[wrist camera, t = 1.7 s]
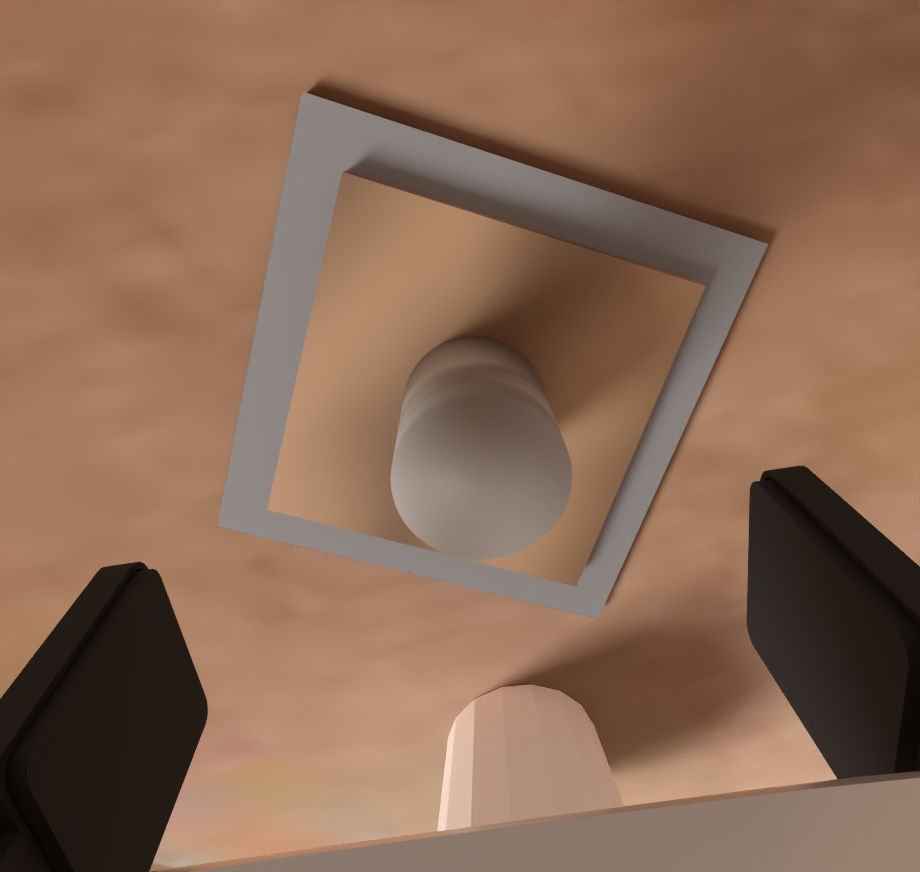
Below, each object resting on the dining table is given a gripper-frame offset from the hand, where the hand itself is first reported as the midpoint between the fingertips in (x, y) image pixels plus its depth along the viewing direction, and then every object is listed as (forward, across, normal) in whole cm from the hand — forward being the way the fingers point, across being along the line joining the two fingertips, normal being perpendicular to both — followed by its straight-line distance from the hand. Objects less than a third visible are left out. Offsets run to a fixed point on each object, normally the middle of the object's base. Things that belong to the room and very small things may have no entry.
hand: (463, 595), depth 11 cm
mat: (+11, -1, 0) cm, 11 cm away
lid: (+10, -1, 0) cm, 10 cm away
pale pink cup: (+11, -1, +15) cm, 18 cm away
